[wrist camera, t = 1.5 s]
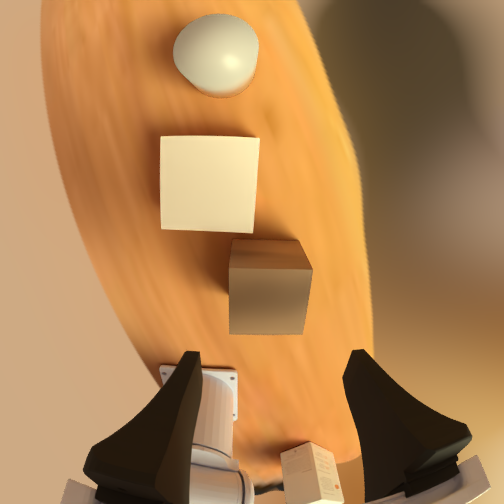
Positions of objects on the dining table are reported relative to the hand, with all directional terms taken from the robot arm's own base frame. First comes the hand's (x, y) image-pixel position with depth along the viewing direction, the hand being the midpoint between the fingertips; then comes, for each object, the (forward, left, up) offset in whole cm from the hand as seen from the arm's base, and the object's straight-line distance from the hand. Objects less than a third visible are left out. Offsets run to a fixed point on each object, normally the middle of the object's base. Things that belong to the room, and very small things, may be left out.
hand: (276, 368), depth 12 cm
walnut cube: (0, 0, -11) cm, 11 cm away
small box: (-33, -9, -11) cm, 36 cm away
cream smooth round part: (+15, +3, -11) cm, 19 cm away
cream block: (+7, +4, -11) cm, 13 cm away
